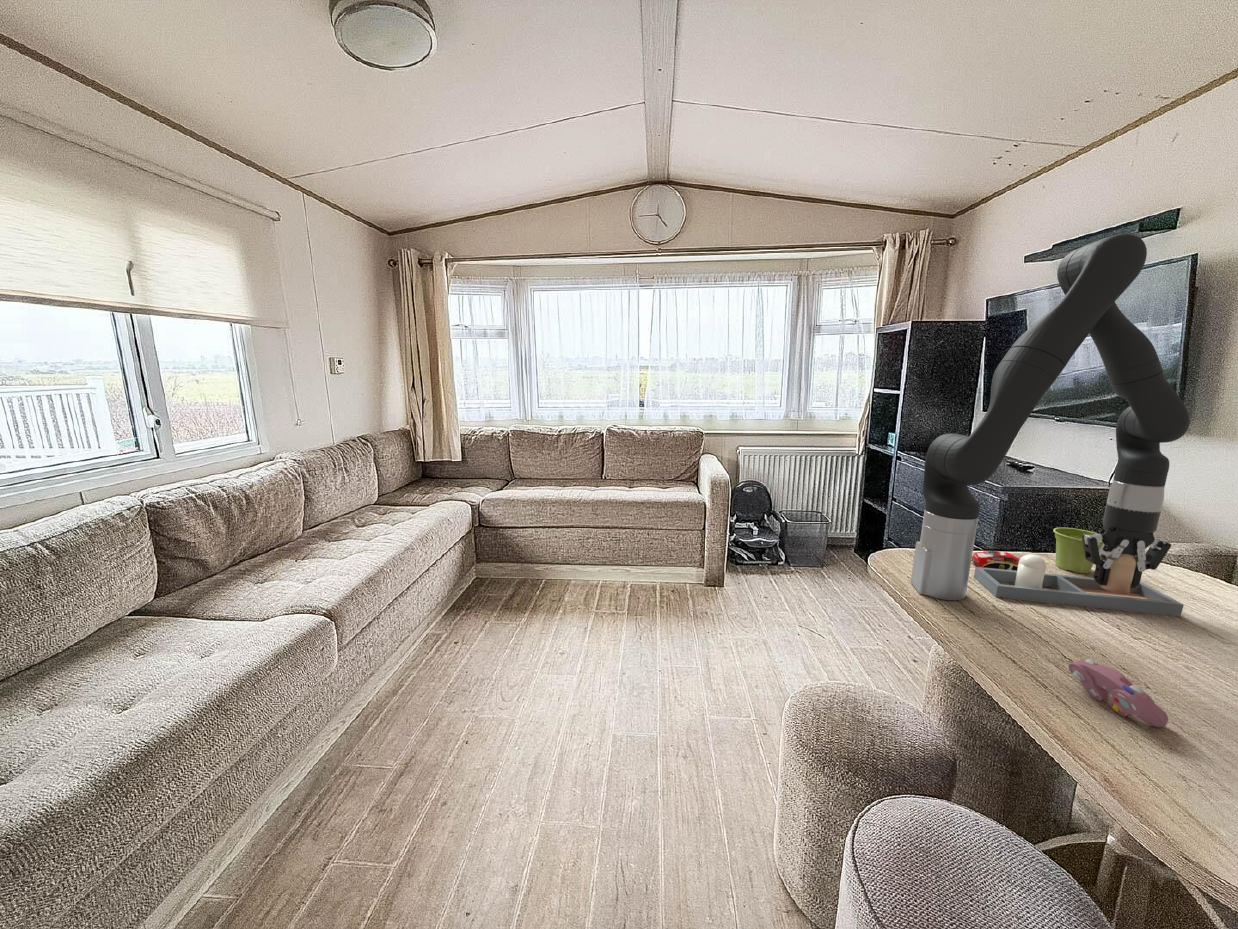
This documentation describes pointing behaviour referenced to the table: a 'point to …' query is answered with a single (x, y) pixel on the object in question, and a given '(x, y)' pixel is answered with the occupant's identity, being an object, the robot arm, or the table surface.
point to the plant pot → (1072, 550)
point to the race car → (996, 560)
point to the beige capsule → (1121, 574)
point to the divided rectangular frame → (1079, 593)
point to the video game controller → (1117, 691)
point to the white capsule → (1030, 571)
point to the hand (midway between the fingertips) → (1115, 584)
